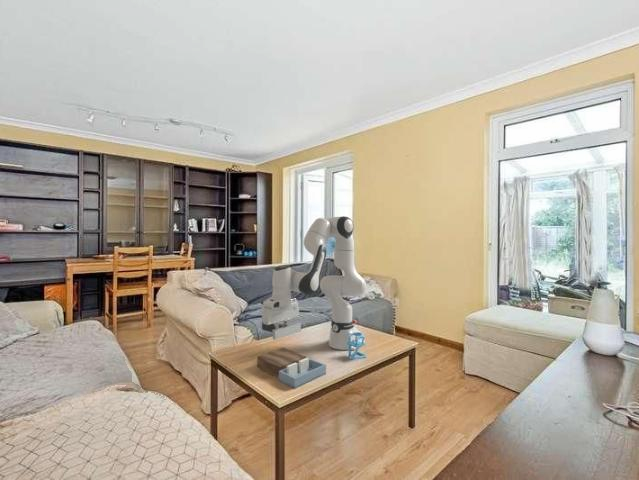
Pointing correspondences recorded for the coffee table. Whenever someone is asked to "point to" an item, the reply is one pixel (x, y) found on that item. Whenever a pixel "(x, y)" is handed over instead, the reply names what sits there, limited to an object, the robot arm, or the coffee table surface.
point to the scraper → (282, 329)
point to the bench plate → (278, 360)
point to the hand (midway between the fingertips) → (281, 330)
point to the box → (303, 374)
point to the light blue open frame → (356, 345)
